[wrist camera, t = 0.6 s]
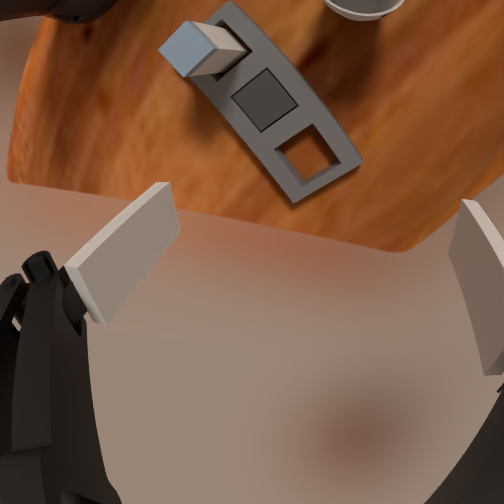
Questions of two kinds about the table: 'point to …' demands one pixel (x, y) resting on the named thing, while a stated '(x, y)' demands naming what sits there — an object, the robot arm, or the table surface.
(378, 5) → the cup
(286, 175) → the panel
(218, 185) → the table surface
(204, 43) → the plug
